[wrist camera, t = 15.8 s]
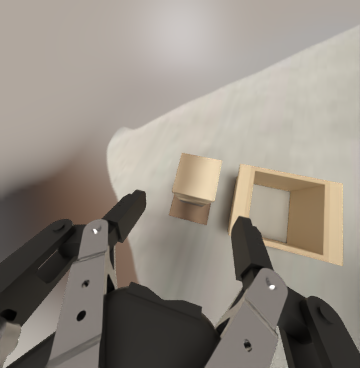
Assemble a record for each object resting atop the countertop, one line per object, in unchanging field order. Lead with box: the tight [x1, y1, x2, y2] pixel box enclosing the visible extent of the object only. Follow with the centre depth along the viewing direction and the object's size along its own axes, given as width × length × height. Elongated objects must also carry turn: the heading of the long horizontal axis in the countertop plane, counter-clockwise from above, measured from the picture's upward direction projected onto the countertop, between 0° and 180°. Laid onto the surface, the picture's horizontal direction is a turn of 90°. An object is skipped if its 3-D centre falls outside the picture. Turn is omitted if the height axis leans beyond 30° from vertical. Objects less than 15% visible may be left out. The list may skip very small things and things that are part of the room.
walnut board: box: [169, 194, 211, 225], centre depth 31 cm, size 9×13×2 cm
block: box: [172, 153, 222, 207], centre depth 23 cm, size 5×5×16 cm
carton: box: [227, 164, 343, 266], centre depth 26 cm, size 18×14×8 cm
